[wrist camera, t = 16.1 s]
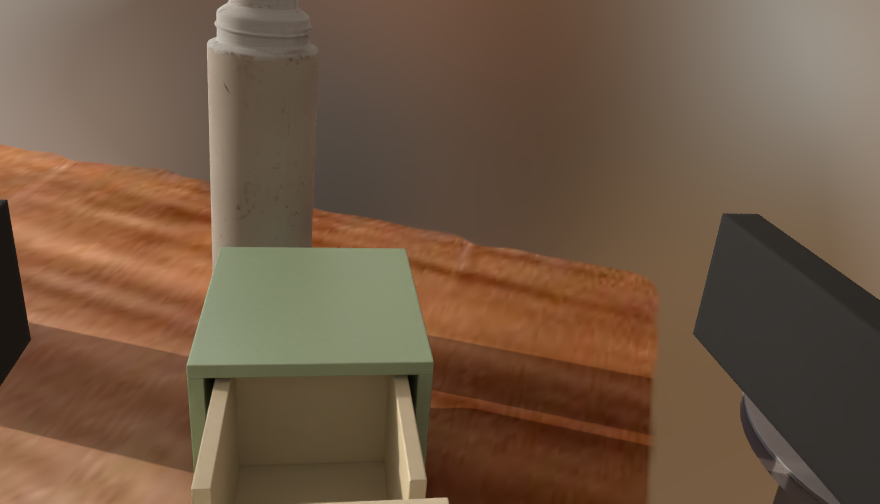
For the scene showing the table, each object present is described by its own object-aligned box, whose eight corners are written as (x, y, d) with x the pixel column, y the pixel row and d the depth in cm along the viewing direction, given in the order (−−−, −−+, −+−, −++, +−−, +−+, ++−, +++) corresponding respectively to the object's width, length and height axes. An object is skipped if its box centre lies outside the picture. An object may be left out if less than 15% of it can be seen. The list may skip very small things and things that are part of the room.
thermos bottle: (193, 314, 63) (179, -45, 51) (258, 281, 69) (259, -44, 58) (267, 345, 60) (270, -30, 48) (328, 308, 66) (343, -31, 55)
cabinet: (420, 515, 44) (434, 362, 40) (197, 526, 42) (185, 365, 38) (397, 375, 57) (405, 248, 53) (226, 378, 55) (220, 246, 51)
